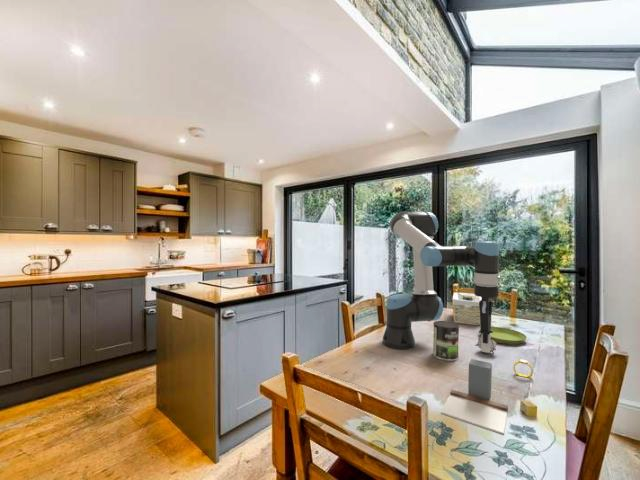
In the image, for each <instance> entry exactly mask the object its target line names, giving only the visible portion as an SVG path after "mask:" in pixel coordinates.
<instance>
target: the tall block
mask: <svg viewBox="0 0 640 480" xmlns="http://www.w3.org/2000/svg"><path fill="white" fill-rule="evenodd" d="M492 367H493V363H492V362H487V361H482V360H478V359H474V358H471V359H470V360H469V363H468V383H467V384H468V385H467V386H468V389H467V391H468V393H467V394H469V395H472V396H476V397H479V398H483V399H486V400H490V401H491V398H492V377H493V376H492V371H493V370H492V369H493V368H492Z"/></svg>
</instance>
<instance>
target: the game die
mask: <svg viewBox="0 0 640 480" xmlns="http://www.w3.org/2000/svg"><path fill="white" fill-rule="evenodd" d="M477 340H478V341H477V344H475V345H474V346H476V347H478V348H479V349H480V350H481V334H479V337H478V338H477ZM497 344H499V343H498V342H495V341H494V340H493V338H491V337H490V353H493V354H495V352H494V351H496V350H497V349H496V346H497ZM486 354H488V353H487V352H484V355H486Z"/></svg>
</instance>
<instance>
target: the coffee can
mask: <svg viewBox="0 0 640 480" xmlns="http://www.w3.org/2000/svg"><path fill="white" fill-rule="evenodd" d="M432 324H433V343H432V345H433V346H432V347H433V348H432V349H433V351H432V352H433V357H435V358H437V359H439V360H441V361H447V362H453V361H454V362H455V361H457V360H459V339H460V338H459V333H460V332H459V330H460V325H459V323H456V322H452V321H448V320H434V322H433V323H432Z"/></svg>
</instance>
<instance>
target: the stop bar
mask: <svg viewBox="0 0 640 480" xmlns="http://www.w3.org/2000/svg"><path fill="white" fill-rule="evenodd" d="M450 395H454V396H457V397H460V398H464V399H467V400H471V401H474V402H477V403H481V404H484V405H487V406H491V407H494V408H497V409H501V410H504V411H507V413H508V412H509V410H508V409H509V406H508V405H506V404H502V403H500V402H497V401H493V400H491V399H490V400H486V399H483V398H479V397H476V396H472V395H469V394H468V393H465V392H461V391H458V390H456V389H455V390H454V389H451V390H450V391H449V396H450Z"/></svg>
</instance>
